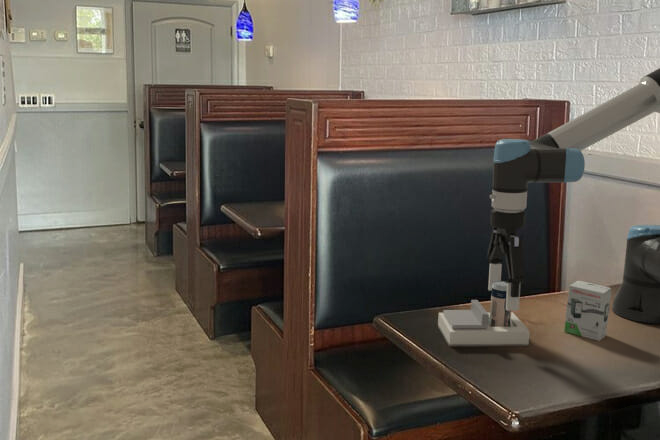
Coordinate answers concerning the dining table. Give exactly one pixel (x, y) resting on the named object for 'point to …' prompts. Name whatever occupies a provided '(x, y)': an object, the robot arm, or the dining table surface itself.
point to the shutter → (468, 317)
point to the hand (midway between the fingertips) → (502, 299)
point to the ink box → (587, 310)
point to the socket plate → (485, 334)
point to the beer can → (499, 306)
